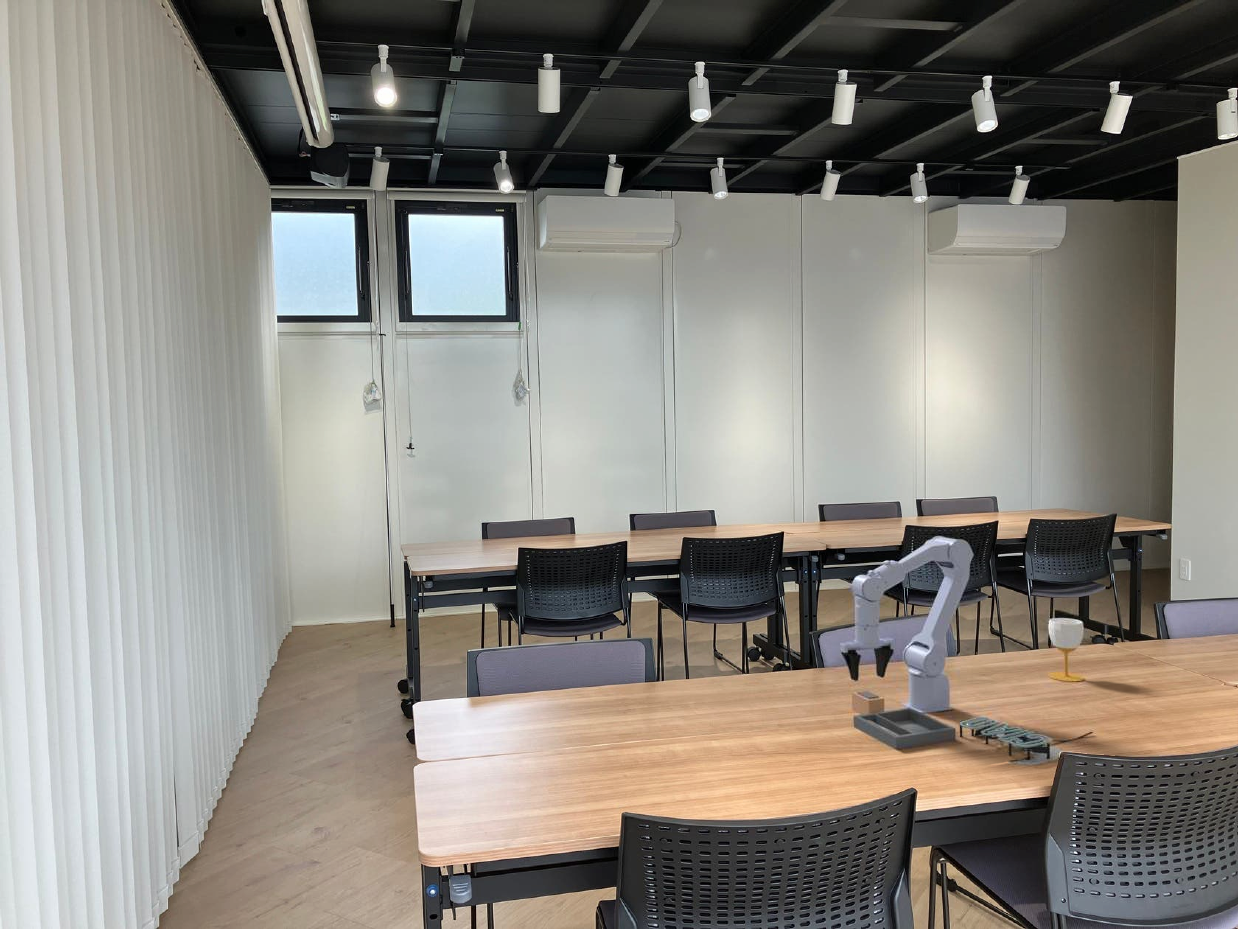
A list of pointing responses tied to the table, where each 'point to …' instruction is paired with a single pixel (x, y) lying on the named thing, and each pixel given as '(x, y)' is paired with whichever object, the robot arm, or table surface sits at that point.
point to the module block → (867, 702)
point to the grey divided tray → (904, 728)
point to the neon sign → (1017, 740)
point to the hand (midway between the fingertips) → (867, 678)
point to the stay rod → (882, 727)
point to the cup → (1066, 643)
